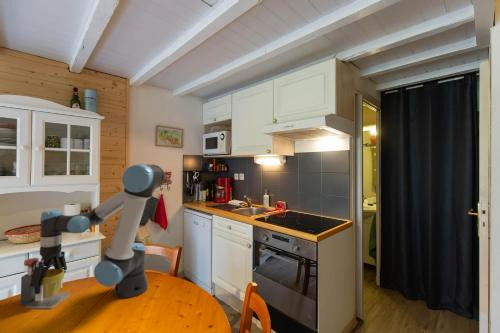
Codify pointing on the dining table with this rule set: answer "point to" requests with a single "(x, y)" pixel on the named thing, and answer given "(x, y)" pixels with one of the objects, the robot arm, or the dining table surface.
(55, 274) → the plant pot
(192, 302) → the dining table surface
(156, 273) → the dining table surface
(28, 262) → the ram
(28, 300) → the press base
